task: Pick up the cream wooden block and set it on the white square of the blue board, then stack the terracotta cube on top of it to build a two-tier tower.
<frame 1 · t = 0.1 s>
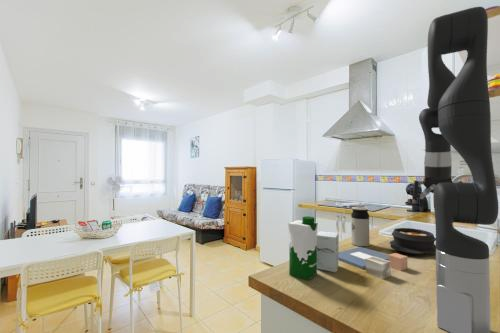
hand: (437, 209, 86), 22 cm above the counter, tool pointing down, fingers open, 8 cm apart
blue board: (361, 257, 99), on the counter
terracotta cube: (397, 267, 90), on the counter
supplement box: (327, 268, 90), on the counter
cream block: (378, 274, 84), on the counter
casserole: (413, 250, 110), on the counter
milk carton: (303, 274, 84), on the counter
travel mug: (360, 244, 118), on the counter
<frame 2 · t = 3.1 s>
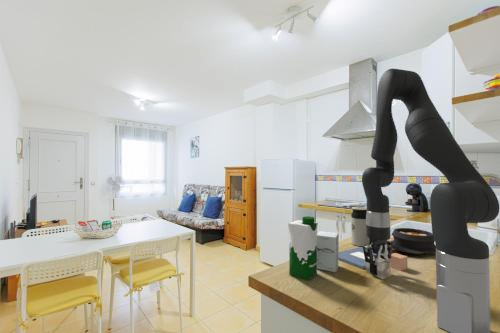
hand: (378, 272, 84), 0 cm above the counter, tool pointing down, fingers closed on cream block, 5 cm apart
cream block: (378, 274, 84), on the counter, touching gripper
everything else where it was.
when the fingers open (3 cm above the counter, at t = 8.3 s): cream block drops 1 cm, resting on blue board.
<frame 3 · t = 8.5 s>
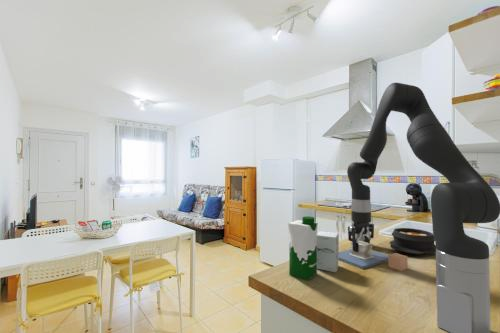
hand: (361, 250, 100), 3 cm above the counter, tool pointing down, fingers open, 6 cm apart
cream block: (361, 255, 100), point 1 cm above the counter, touching blue board
everything else where it was.
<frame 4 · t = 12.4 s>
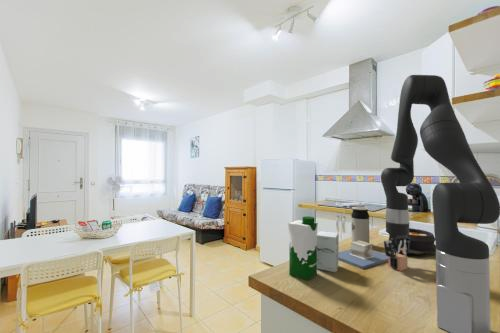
hand: (397, 266, 90), 0 cm above the counter, tool pointing down, fingers closed on terracotta cube, 4 cm apart
terracotta cube: (397, 267, 90), on the counter, touching gripper
everything else where it was.
when the fingers open (7 cm above the counter, at t = 16.9 s): terracotta cube stays where it is, resting on cream block.
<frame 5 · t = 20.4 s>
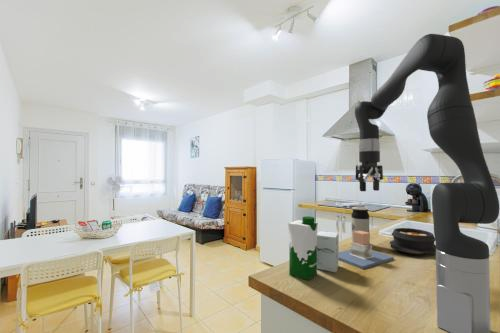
hand: (369, 190, 97), 28 cm above the counter, tool pointing down, fingers open, 8 cm apart
terracotta cube: (361, 243, 100), point 6 cm above the counter, touching cream block
cream block: (361, 255, 100), point 1 cm above the counter, touching blue board, terracotta cube
everything else where it was.
at the end: cream block 0.0 cm off-centre on the blue board, point 1.1 cm above the blue board's base; terracotta cube 0.0 cm off-centre on the cream block, point 5.0 cm above the cream block's base; terracotta cube tilted 0° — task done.
